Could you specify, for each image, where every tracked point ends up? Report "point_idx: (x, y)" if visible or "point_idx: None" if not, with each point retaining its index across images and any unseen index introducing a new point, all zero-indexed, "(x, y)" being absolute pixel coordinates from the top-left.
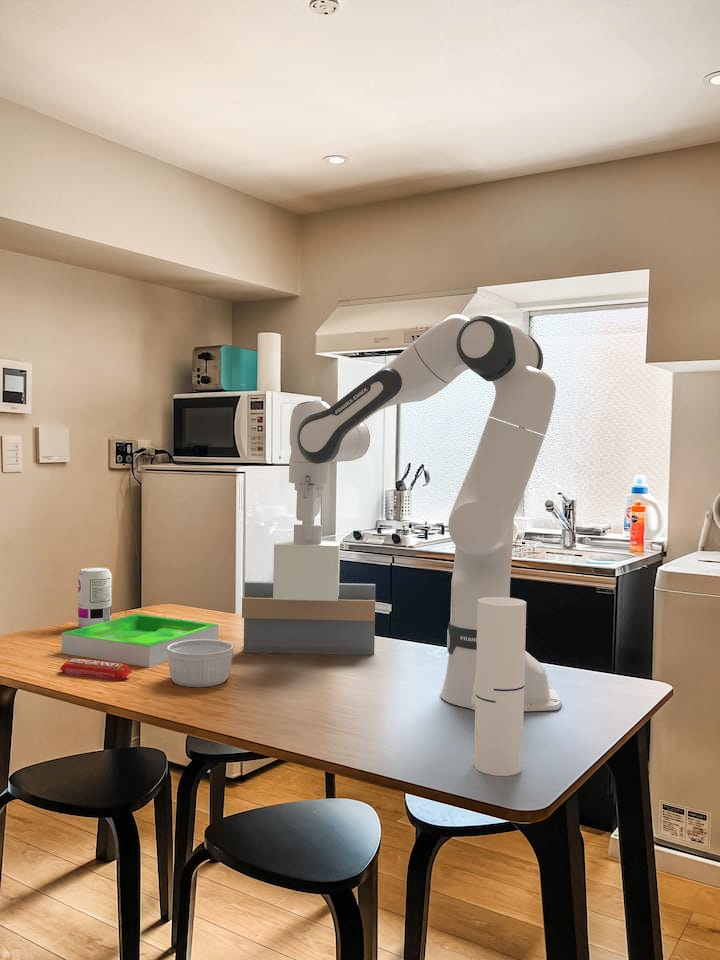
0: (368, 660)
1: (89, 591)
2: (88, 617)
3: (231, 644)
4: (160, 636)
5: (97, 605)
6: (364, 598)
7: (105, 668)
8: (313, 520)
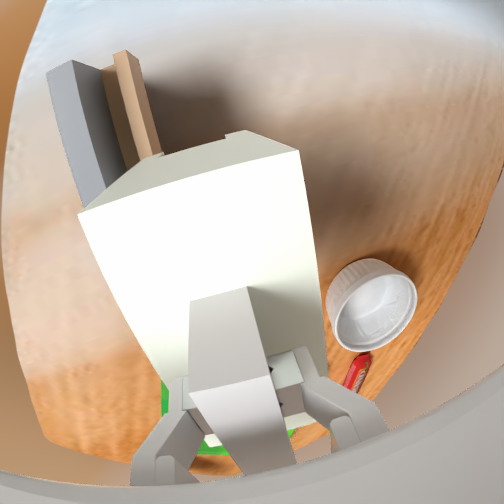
0: (172, 77)
1: None
2: None
3: (361, 286)
4: None
5: None
6: (94, 94)
7: (365, 375)
8: (176, 461)
